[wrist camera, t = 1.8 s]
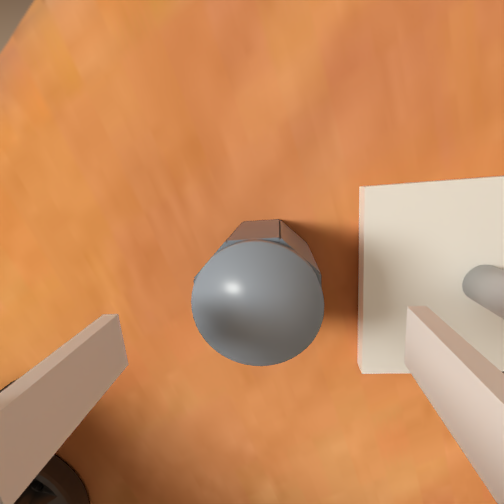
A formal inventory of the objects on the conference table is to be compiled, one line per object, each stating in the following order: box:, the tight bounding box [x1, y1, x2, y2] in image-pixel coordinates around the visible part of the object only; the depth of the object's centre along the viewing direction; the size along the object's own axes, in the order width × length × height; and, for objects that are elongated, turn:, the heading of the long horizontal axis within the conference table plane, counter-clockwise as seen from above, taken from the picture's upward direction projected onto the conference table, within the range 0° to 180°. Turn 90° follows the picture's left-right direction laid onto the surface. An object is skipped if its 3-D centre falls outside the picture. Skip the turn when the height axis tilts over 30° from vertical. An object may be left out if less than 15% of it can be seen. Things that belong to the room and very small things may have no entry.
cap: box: [191, 219, 324, 366], centre depth 21 cm, size 8×8×9 cm
